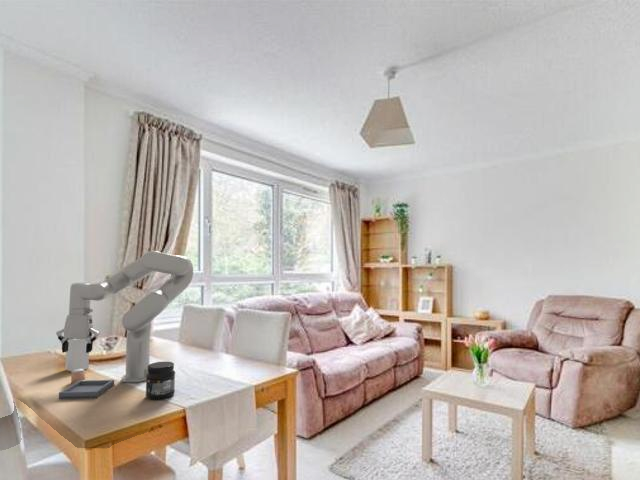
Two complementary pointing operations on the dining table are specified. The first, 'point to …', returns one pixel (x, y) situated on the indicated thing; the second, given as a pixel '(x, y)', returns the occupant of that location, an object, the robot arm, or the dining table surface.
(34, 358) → the dining table surface
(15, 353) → the dining table surface
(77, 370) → the salt shaker
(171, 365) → the supplement container
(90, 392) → the tray
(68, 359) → the milk carton
